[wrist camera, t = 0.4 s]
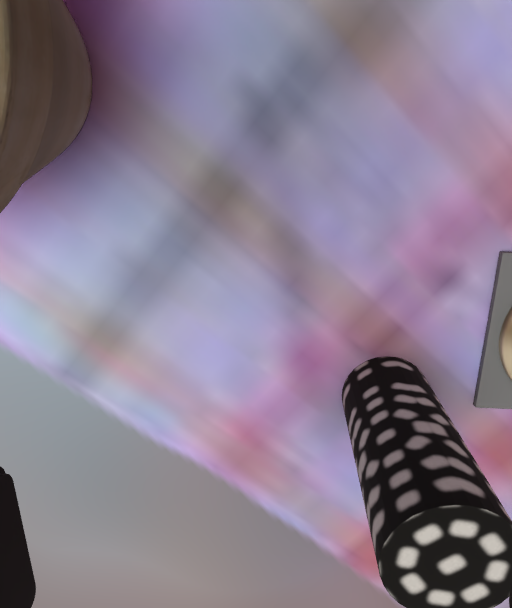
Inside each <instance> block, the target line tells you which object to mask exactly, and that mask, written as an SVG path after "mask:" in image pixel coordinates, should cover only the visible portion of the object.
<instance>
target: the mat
mask: <svg viewBox="0 0 512 608" xmlns="http://www.w3.org/2000/svg"><path fill="white" fill-rule="evenodd" d="M511 307H512V252H500V254H499V260H498V265H497V271H496V277H495V283H494V288H493V294H492V300H491V306H490V311H489V317H488V323H487V328H486V334H485V340H484V346H483V351H482V357H481V363H480V369H479V374H478V380H477V386H476V391H475V397H474V403H473V405H474V406H475V407H478V408H500V409H512V380H511V379H510V378H509V376H508V375H507V373H506V372H505V370H504V368H503V365H502V362H501V359H500V354H499V337H500V332H501V328H502V325H503V322H504V320H505V317H506V316H507V314H508V312H509V310H510V309H511Z"/></svg>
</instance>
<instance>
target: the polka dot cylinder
mask: <svg viewBox="0 0 512 608" xmlns="http://www.w3.org/2000/svg"><path fill="white" fill-rule="evenodd" d="M342 402H343V407H344V412H345V417H346V421H347V426H348V431H349V435H350V440H351V444H352V449H353V454H354V458H355V463H356V467H357V472H358V477H359V481H360V486H361V491H362V495H363V500H364V504H365V509H366V514H367V518H368V523H369V527H370V532H371V537H372V541H373V546H374V551H375V555H376V560H377V564H378V569H379V574H380V577H381V580H382V582H383V585H384V587H385V588H386V590H387V591H388V592H389V594H390V595H391V596H392V597H393V598H394V599H395V600H396V601H397V602H398V603H400V604H401V605H403V606H404V607H406V608H493V607H495V606H497V605H499V604H500V603H502V602H503V601H504V600H505V599H507V598H508V597H509V596H510V590H511V583H512V521H511V519H510V517H509V516H508V514H507V512H506V511H505V509H504V508H503V506H502V504H501V503H500V501H499V499H498V498H497V496H496V494H495V493H494V491H493V489H492V488H491V486H490V484H489V483H488V481H487V479H486V478H485V476H484V474H483V473H482V471H481V470H480V468H479V466H478V465H477V463H476V461H475V460H474V458H473V456H472V455H471V453H470V451H469V450H468V448H467V446H466V445H465V443H464V441H463V440H462V438H461V436H460V435H459V433H458V432H457V430H456V428H455V427H454V425H453V423H452V422H451V420H450V418H449V417H448V415H447V413H446V412H445V410H444V408H443V407H442V405H441V403H440V402H439V400H438V398H437V397H436V395H435V394H434V392H433V390H432V389H431V387H430V385H429V384H428V382H427V380H426V379H425V377H424V375H423V374H422V372H421V371H420V370H419V369H418V368H417V367H416V366H414V365H413V364H412V363H410V362H408V361H406V360H403V359H400V358H396V357H379V358H374V359H371V360H368V361H366V362H364V363H362V364H361V365H359V366H358V367H357V368H355V369H354V370H353V371H352V373H351V374H350V375H349V376H348V378H347V380H346V381H345V384H344V387H343V391H342Z"/></svg>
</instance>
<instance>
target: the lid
mask: <svg viewBox="0 0 512 608" xmlns="http://www.w3.org/2000/svg"><path fill="white" fill-rule="evenodd" d="M499 354H500V359H501V362H502V365H503V368H504V370H505V372H506V373H507V375H508V376H509V378H510V379H511V380H512V307H511V309H510V310H509V312H508V314H507V316H506V317H505V320H504V322H503V325H502V328H501V332H500V337H499Z"/></svg>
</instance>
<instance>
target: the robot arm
mask: <svg viewBox="0 0 512 608" xmlns="http://www.w3.org/2000/svg"><path fill="white" fill-rule="evenodd" d="M35 592H36V586H35V580H34V575H33V571H32V566H31V561H30V557H29V552H28V548H27V543H26V539H25V534H24V529H23V525H22V520H21V515H20V510H19V506H18V501H17V497H16V492H15V488H14V483H13V479H12V477H11V476H10V475H9V474H6V473H5V471H4V469H3V468H2V467H0V608H31V607H32V604H33V601H34V598H35ZM509 605H510V608H512V583H511V590H510V597H509Z"/></svg>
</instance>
